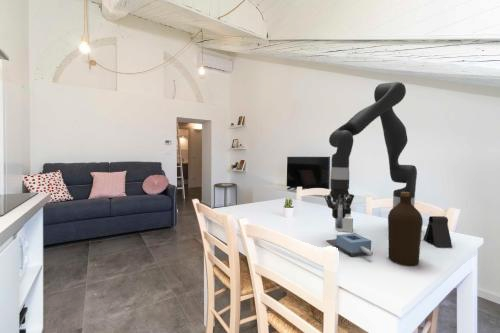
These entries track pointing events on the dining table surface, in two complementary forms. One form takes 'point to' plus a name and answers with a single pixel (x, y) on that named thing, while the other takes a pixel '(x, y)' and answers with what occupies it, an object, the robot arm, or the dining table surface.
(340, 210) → the chuck key
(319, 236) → the dining table surface
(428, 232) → the black folding stand
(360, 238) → the block
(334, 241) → the rubber pad
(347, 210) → the medicine bottle
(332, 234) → the dining table surface
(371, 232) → the dining table surface
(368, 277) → the dining table surface
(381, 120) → the robot arm
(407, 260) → the olive oil
